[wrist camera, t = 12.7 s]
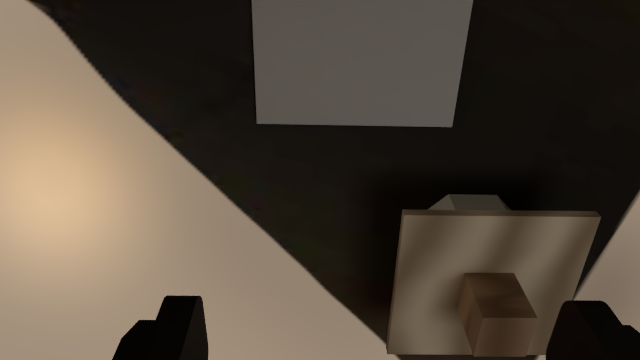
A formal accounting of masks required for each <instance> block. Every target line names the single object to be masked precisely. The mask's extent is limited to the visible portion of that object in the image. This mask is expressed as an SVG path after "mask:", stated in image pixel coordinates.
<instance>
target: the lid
mask: <svg viewBox="0 0 640 360" xmlns="http://www.w3.org/2000/svg"><path fill="white" fill-rule="evenodd" d="M600 219H601V216H600V215H599V214H598V213H597V212H596V211H509V210H404V209H402V217H401V226H400V234H399V243H398V251H397V260H396V268H395V277H394V285H393V294H392V302H391V311H390V319H389V328H388V336H387V345H386V349H387V354H473V356H514V357H526V355H546V349H547V346H548V343H549V340H550V337H551V334H552V331H553V328H554V325H555V323H556V320H557V317H558V314H559V311H560V308H561V306H562V304H563V303H564V302H565V301H568V300H572V298H573V295H574V292H575V289H576V287H577V284H578V281H579V278H580V275H581V272H582V270H583V267H584V264H585V261H586V258H587V255H588V253H589V250H590V247H591V244H592V241H593V239H594V236H595V233H596V230H597V227H598V224H599V222H600Z"/></svg>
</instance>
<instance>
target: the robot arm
mask: <svg viewBox="0 0 640 360" xmlns="http://www.w3.org/2000/svg"><path fill="white" fill-rule="evenodd" d="M112 360H208V341H207V332H206V324H205V316H204V309H203V301H202V298H201V296H166V297H165V298H164V300H163V302H162V305H161V307H160V310H159V313H158V316H157V318H156V320H139V321H138V322H137V323H136V324H135V325H134V326H133V327H132V328H131V329H130V330H129V331H128V332H127V333H126V334H125V335H124V336H123V337H122V339H121V341H120V343H119V345H118V348H117V350H116V352H115V354H114V357H113V359H112ZM546 360H640V333H639V332H638V331H637V330H635V329H634V328H633V327H631V326H630V325H622V324H621V322H620V321H619V320H618V318H617V317H616V315H615V314H614V313H613V311H612V310H611V308H610V307H609V306H608V305H607V304H606V303H605V302H603V301H573V300H568V301H565V302H564V303H563V304H562V306H561V308H560V311H559V314H558V317H557V320H556V323H555V325H554V328H553V331H552V334H551V337H550V340H549V343H548V346H547V349H546Z"/></svg>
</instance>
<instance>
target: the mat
mask: <svg viewBox="0 0 640 360" xmlns="http://www.w3.org/2000/svg"><path fill="white" fill-rule="evenodd" d="M472 3H473V0H252V21H253V44H254V68H255V91H256V115H257V124H307V125H365V126H422V127H452V124H453V118H454V112H455V106H456V100H457V94H458V88H459V82H460V76H461V70H462V64H463V58H464V52H465V46H466V39H467V33H468V27H469V21H470V15H471V9H472Z"/></svg>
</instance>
